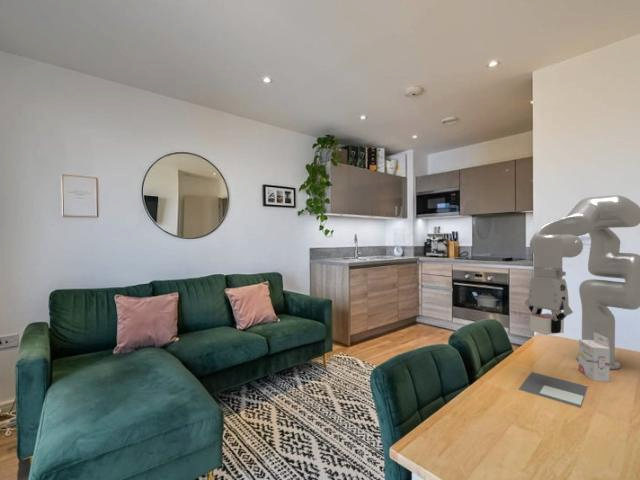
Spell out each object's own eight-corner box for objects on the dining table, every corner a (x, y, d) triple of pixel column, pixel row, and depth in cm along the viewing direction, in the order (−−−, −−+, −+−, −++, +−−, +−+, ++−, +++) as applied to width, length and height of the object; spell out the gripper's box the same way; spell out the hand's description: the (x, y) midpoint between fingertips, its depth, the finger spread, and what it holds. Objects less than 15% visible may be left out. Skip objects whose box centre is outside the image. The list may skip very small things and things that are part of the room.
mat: (531, 373, 111) (531, 371, 111) (587, 388, 100) (587, 385, 100) (518, 391, 98) (518, 388, 98) (580, 410, 88) (580, 407, 88)
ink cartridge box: (577, 371, 113) (577, 330, 113) (593, 373, 112) (594, 331, 112) (592, 382, 105) (593, 337, 104) (610, 384, 104) (611, 339, 103)
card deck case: (548, 328, 106) (548, 312, 106) (563, 332, 101) (563, 316, 101) (530, 330, 103) (530, 314, 103) (545, 334, 98) (545, 318, 98)
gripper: (584, 276, 95) (584, 337, 95) (531, 270, 111) (530, 322, 111) (566, 277, 93) (566, 339, 93) (514, 271, 109) (514, 324, 109)
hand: (546, 329), depth 102 cm, fingers closed on card deck case, 5 cm apart
